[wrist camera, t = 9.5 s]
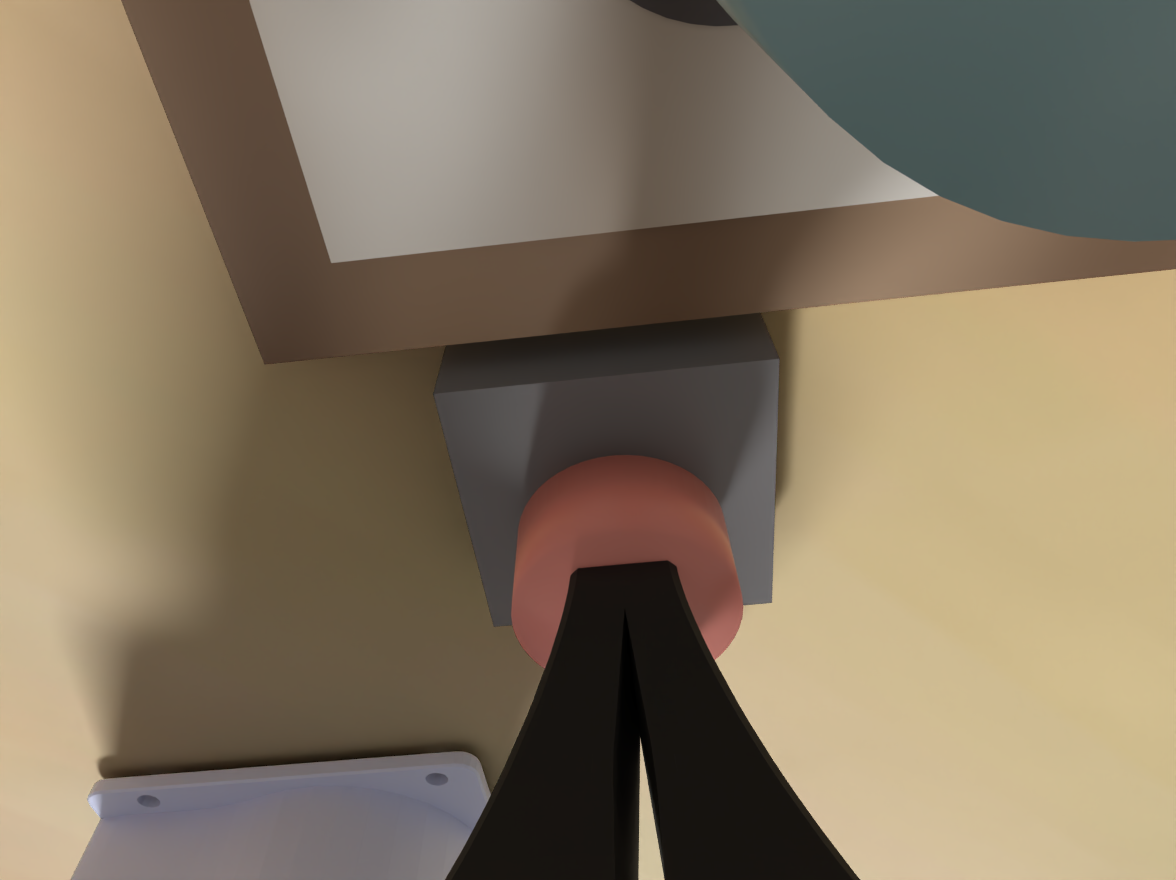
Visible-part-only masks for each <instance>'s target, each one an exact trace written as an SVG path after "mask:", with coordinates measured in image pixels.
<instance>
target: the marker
mask: <svg viewBox="0 0 1176 880" xmlns="http://www.w3.org/2000/svg"><path fill="white" fill-rule="evenodd" d="M716 1H717V2H718V3H719V4H720V5H721V6H722V7H723V9H724V10H725V11H726V12H727V13H728V14H729V15H730V17H731V18H732V19H733V20H734V21H735V22H736V23H737V24H738V25H739V26H740V27H741V28H742V29H743V30H744V31H745V32H746V33H747V34H748V35H749V36H750V37H751V38H752V39H753V40H754V41H755V42H756V43H757V44H758V45H759V46H760V47H761V48H762V49H763V50H764V51H765V53H766V54H767V55H768V56H769V57H770V58H771V59H772V60H773V61H774V62H775V63H776V64H777V65H778V66H779V67H780V68H781V69H782V70H783V71H784V72H785V73H786V74H787V75H788V76H789V77H790V78H791V79H792V80H793V81H794V82H795V83H796V84H797V85H798V86H799V87H800V88H801V89H802V90H803V91H804V92H805V93H806V94H807V95H808V96H809V97H810V98H811V99H812V100H813V101H814V102H815V103H816V104H817V105H818V106H819V107H820V108H821V109H822V110H823V111H824V112H825V113H826V114H827V115H828V116H829V117H830V118H831V119H832V120H833V121H835V122H836V123H837V124H838V125H839V126H840V127H842V128H843V129H844V130H845V131H846V132H848V133H849V134H850V135H851V136H852V137H854V138H855V139H856V140H857V141H858V142H860V143H861V144H862V145H863V146H864V147H865V148H867V149H868V150H869V151H870V152H871V153H873V154H874V155H875V156H876V157H877V158H879V159H880V160H881V161H882V162H883V163H885V164H887V165H888V166H890V167H892V168H893V169H895V170H897V171H898V172H900V173H902V174H904V175H905V176H907V177H909V178H910V179H912V180H914V181H915V182H917V183H919V184H920V185H922V186H924V187H925V188H927V189H929V190H930V191H932V192H934V193H935V194H937V195H939V196H940V197H943V198H945V199H948V200H950V201H953V202H955V203H958V204H960V205H963V206H965V207H968V208H970V209H973V210H975V211H978V212H980V213H983V214H985V215H988V216H990V217H993V218H995V219H998V220H1001V221H1004V222H1008V223H1013V224H1017V225H1021V226H1026V227H1030V228H1034V229H1039V230H1043V231H1047V232H1052V233H1056V234H1060V235H1065V236H1074V237H1086V238H1098V239H1109V240H1121V241H1133V242H1136V241H1159V240H1176V0H716Z"/></svg>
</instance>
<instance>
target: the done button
mask: <svg viewBox="0 0 1176 880" xmlns="http://www.w3.org/2000/svg"><path fill="white" fill-rule="evenodd" d="M666 560H668V561H670V562H671V563H673V564H674V565H676V566H677V570H678V574H679V578H680V581H681V584H682V587H683V590H684V593H685V596H686V599H687V601H688V604H689V606H690V609H691V611H692V614H693V616H694V618H695V621H696V623H697V625H698V627H699V629H700V632H701V634H702V636H703V638H704V640H705V642H706V644H707V646H708V648H709V650H710V652H711V654H712V656H713V658H714V660H715V659H716V658H718V657H719V656H720V655H721V654H722V653H723V652H724V651H725V650H726V648H727V647H728V646H729V645H730V643H731V642H732V640H733V639H734V637H735V635H736V633H737V631H738V629H739V627H740V623H741V620H742V615H743V598H742V593H741V588H740V584H739V580H738V575H737V571H736V567H735V562H734V558H733V554H732V549H731V545H730V541H729V536H728V532H727V528H726V523H725V519H724V515H723V512H722V508H721V506H720V504H719V502H718V500H717V498H716V497H715V496H714V494H713V493H712V491H711V490H710V489H709V488H708V487H707V486H706V485H705V484H704V483H703V482H702V481H701V480H700V479H699V478H697V477H696V476H695V475H693V474H692V473H690V472H688V471H687V470H685V469H683V468H681V467H679V466H677V465H674V464H672V463H670V462H667V461H663V460H660V459H656V458H651V457H645V456H637V455H613V456H606V457H599V458H595V459H591V460H587V461H583V462H581V463H578V464H575V465H573V466H570V467H568V468H566V469H565V470H563V471H561V472H559V473H557V474H556V475H554V476H553V477H551V478H550V479H548V480H547V481H546V482H545V483H544V484H543V485H542V486H540V487H539V488H538V489H537V491H536V492H535V493H534V494H533V495H532V497H531V498H530V499H529V501H528V503H527V504H526V506H525V508H524V510H523V513H522V515H521V518H520V522H519V526H518V537H517V549H516V560H515V572H514V584H513V596H512V609H511V618H512V625H513V629H514V632H515V635H516V637H517V639H518V641H519V643H520V645H521V646H522V648H523V649H524V650H525V651H526V653H527V654H528V655H529V656H530V657H531V658H532V659H533V660H534V661H535V662H536V663H537V664H539V665H540V666H542V667H543V668H544V669H545V667H546V664H547V662H548V659H549V656H550V653H551V650H552V647H553V644H554V641H555V637H556V634H557V631H558V628H559V624H560V621H561V617H562V614H563V610H564V606H565V601H566V597H567V593H568V587H569V581H570V575H571V574H572V573H573V572H574V571H575V570H577V569H578V568H587V567H598V566H610V565H621V564H632V563H644V562H655V561H666Z"/></svg>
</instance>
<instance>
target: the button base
mask: <svg viewBox="0 0 1176 880" xmlns="http://www.w3.org/2000/svg"><path fill="white" fill-rule="evenodd" d="M779 360H780V359H779V356H778V354H777V351H776V349H775V347H774V344H773V342H772V339H771V337H770V335H769V332H768V330H767V327H766V325H765V323H764V320H763V318H762V315H761V313H751V314H741V315H732V316H722V317H713V318H703V319H694V320H684V321H675V322H665V323H656V324H646V325H636V326H627V327H617V328H608V329H598V330H589V331H579V332H570V333H560V334H551V335H541V336H532V337H522V338H512V339H503V340H493V341H484V342H474V343H465V344H455V345H446V348H445V352H444V355H443V359H442V363H441V367H440V370H439V374H438V378H437V381H436V385H435V389H434V393H433V395H434V399H435V403H436V407H437V411H438V414H439V418H440V422H441V426H442V430H443V434H444V437H445V441H446V445H447V449H448V453H449V457H450V460H451V464H452V468H453V472H454V476H455V480H456V483H457V487H458V491H459V495H460V499H461V503H462V506H463V510H464V514H465V518H466V522H467V525H468V529H469V533H470V537H471V541H472V545H473V548H474V552H475V556H476V560H477V564H478V568H479V571H480V575H481V579H482V583H483V587H484V591H485V594H486V598H487V602H488V606H489V610H490V614H491V617H492V621H493V625H494V627H496V626H508V625H512V618H511V609H512V596H513V584H514V572H515V560H516V549H517V537H518V526H519V522H520V518H521V515H522V513H523V510H524V508H525V506H526V504H527V503H528V501H529V499H530V498H531V497H532V495H533V494H534V493H535V492H536V491H537V489H538V488H539V487H540V486H542V485H543V484H544V483H545V482H546V481H547V480H548V479H550V478H551V477H553V476H554V475H556V474H557V473H559V472H561V471H563V470H565V469H566V468H568V467H570V466H573V465H575V464H578V463H581V462H583V461H587V460H591V459H595V458H599V457H606V456H613V455H637V456H645V457H651V458H656V459H660V460H663V461H667V462H670V463H672V464H674V465H677V466H679V467H681V468H683V469H685V470H687V471H688V472H690V473H692V474H693V475H695V476H696V477H697V478H699V479H700V480H701V481H702V482H703V483H704V484H705V485H706V486H707V487H708V488H709V489H710V490H711V491H712V493H713V494H714V496H715V497H716V498H717V500H718V502H719V504H720V506H721V508H722V512H723V515H724V519H725V523H726V528H727V532H728V536H729V541H730V545H731V549H732V554H733V558H734V562H735V567H736V571H737V575H738V580H739V584H740V588H741V593H742V598H743V605H752V604H764V603H772V581H773V550H774V518H775V486H776V455H777V423H778V392H779Z"/></svg>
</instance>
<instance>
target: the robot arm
mask: <svg viewBox="0 0 1176 880" xmlns="http://www.w3.org/2000/svg"><path fill="white" fill-rule="evenodd" d="M640 738H641V744H642V750H643V756H644V762H645V767H646V773H647V779H648V785H649V791H650V797H651V803H652V808H653V814H654V820H655V826H656V832H657V838H658V843H659V849H660V855H661V861H662V867H663V873H664V878H665V880H860V879H859V878H858V877H857V875H856V874H855V873H854V872H853V870H852V869H851V868H850V866H849V865H848V864H847V863H846V861H845V860H844V859H843V857H842V856H841V855H840V853H839V852H838V851H837V849H836V848H835V847H834V845H833V844H832V843H831V841H830V840H829V839H828V838H827V836H826V835H825V834H824V832H823V831H822V830H821V828H820V827H819V826H818V824H817V823H816V821H815V820H814V819H813V817H812V816H811V814H810V813H809V812H808V810H807V809H806V807H805V806H804V805H803V803H802V802H801V800H800V799H799V798H798V796H797V795H796V793H795V792H794V791H793V789H792V788H791V786H790V785H789V783H788V782H787V780H786V779H785V777H784V776H783V774H782V773H781V771H780V770H779V768H778V767H777V765H776V764H775V762H774V761H773V759H772V758H771V756H770V755H769V753H768V752H767V750H766V748H765V747H764V745H763V744H762V742H761V740H760V739H759V737H758V736H757V734H756V732H755V731H754V729H753V728H752V726H751V724H750V723H749V721H748V719H747V718H746V716H745V714H744V713H743V711H742V709H741V707H740V706H739V704H738V702H737V701H736V699H735V697H734V695H733V693H732V692H731V690H730V688H729V686H728V684H727V682H726V681H725V679H724V677H723V675H722V673H721V671H720V670H719V668H718V666H717V664H716V662H715V660H714V658H713V656H712V654H711V652H710V650H709V648H708V646H707V644H706V642H705V640H704V638H703V636H702V634H701V632H700V629H699V627H698V625H697V623H696V621H695V618H694V616H693V614H692V611H691V609H690V606H689V604H688V601H687V599H686V596H685V593H684V590H683V587H682V584H681V581H680V578H679V574H678V570H677V566H676V565H674V564H673V563H671V562H670V561H668V560H666V561H655V562H644V563H632V564H621V565H610V566H598V567H587V568H578V569H577V570H575V571H574V572H573V573H572V574H571V575H570V581H569V587H568V593H567V597H566V601H565V606H564V610H563V614H562V617H561V621H560V624H559V628H558V631H557V634H556V637H555V641H554V644H553V647H552V650H551V653H550V656H549V659H548V662H547V664H546V667H545V670H544V673H543V675H542V678H541V681H540V683H539V686H538V689H537V692H536V694H535V697H534V700H533V702H532V705H531V707H530V710H529V712H528V715H527V717H526V719H525V722H524V724H523V726H522V728H521V731H520V733H519V735H518V737H517V740H516V742H515V744H514V747H513V749H512V751H511V753H510V756H509V758H508V760H507V762H506V765H505V767H504V769H503V771H502V773H501V776H500V778H499V780H498V782H497V784H496V786H495V788H494V790H493V792H492V794H490V791H489V788H488V785H487V782H486V779H485V775H484V772H483V769H482V766H481V763H480V761H479V760H478V758H477V757H475V756H474V755H472V754H471V753H467V752H463V751H452V752H440V753H427V754H414V755H401V756H388V757H376V758H363V759H350V760H337V761H324V762H312V763H299V764H286V765H273V766H260V767H248V768H235V769H222V770H209V771H196V772H184V773H171V774H158V775H145V776H132V777H120V778H107V779H103V780H99V781H98V782H96V783H95V784H94V786H93V787H92V789H91V791H90V793H89V795H88V798H87V800H88V802H89V804H90V806H91V807H92V808H93V810H94V811H95V812H96V813H97V814H98V815H99V817H100V818H101V819H100V821H99V823H98V825H97V827H96V829H95V831H94V833H93V835H92V837H91V839H90V841H89V843H88V845H87V847H86V849H85V851H84V853H83V855H82V857H81V860H80V862H79V864H78V866H77V868H76V870H75V872H74V874H73V876H72V878H71V880H638V861H639V787H640Z"/></svg>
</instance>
